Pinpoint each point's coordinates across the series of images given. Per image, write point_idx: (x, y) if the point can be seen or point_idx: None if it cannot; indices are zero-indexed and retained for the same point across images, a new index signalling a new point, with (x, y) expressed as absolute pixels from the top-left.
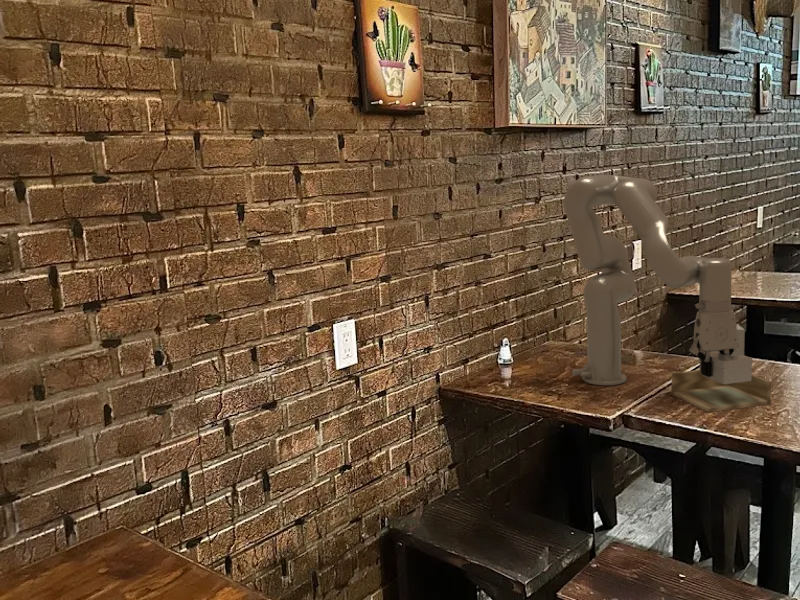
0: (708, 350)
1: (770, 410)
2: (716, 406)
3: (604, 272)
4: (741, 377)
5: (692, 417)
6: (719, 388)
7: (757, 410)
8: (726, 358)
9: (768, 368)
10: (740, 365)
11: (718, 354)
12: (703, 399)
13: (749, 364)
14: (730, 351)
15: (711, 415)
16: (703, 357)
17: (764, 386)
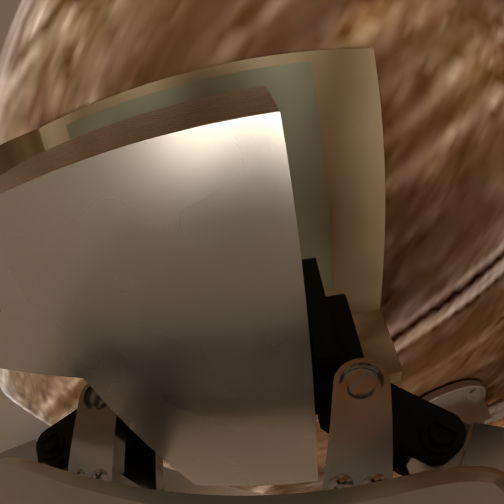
0: (451, 481)
1: (63, 47)
2: (314, 64)
3: None
4: (77, 138)
5: (454, 24)
6: None
7: (111, 43)
8: (129, 322)
9: (34, 397)
10: (12, 175)
11: (183, 447)
12: (326, 183)
13: None
14: (63, 443)
15: (368, 10)
16: (398, 410)
17: (4, 169)
